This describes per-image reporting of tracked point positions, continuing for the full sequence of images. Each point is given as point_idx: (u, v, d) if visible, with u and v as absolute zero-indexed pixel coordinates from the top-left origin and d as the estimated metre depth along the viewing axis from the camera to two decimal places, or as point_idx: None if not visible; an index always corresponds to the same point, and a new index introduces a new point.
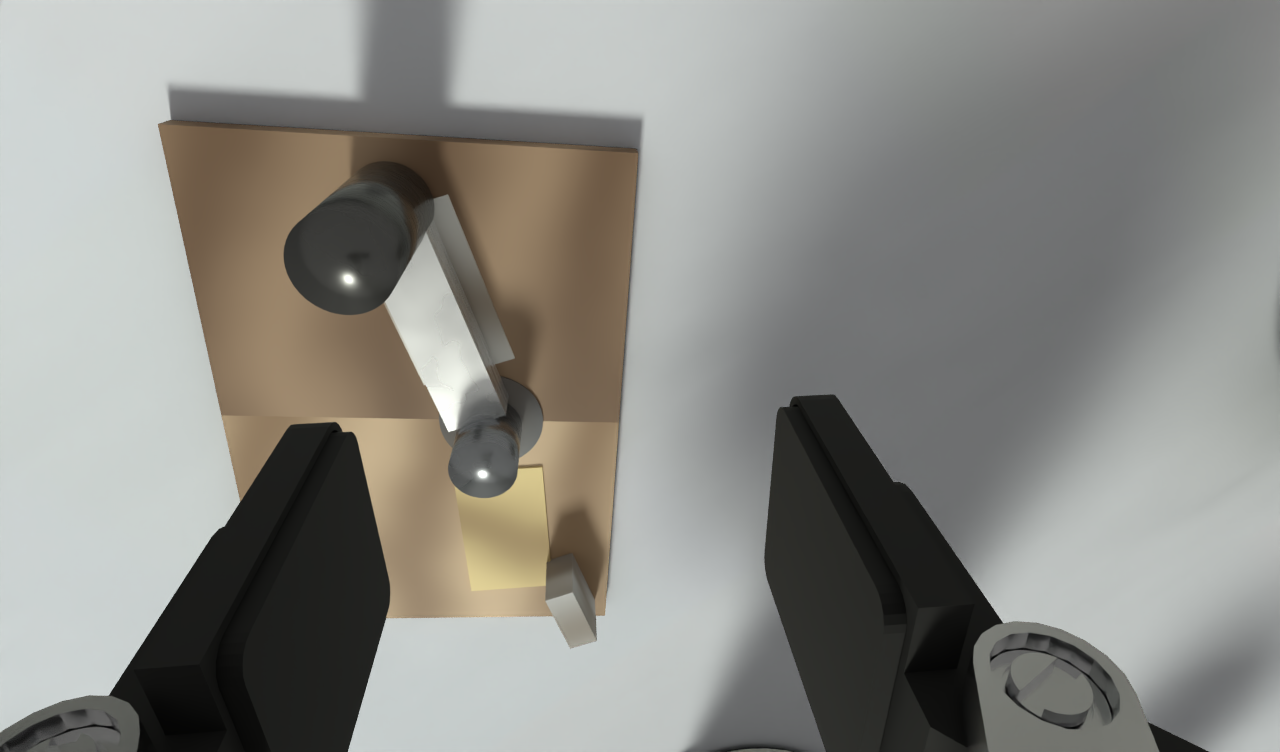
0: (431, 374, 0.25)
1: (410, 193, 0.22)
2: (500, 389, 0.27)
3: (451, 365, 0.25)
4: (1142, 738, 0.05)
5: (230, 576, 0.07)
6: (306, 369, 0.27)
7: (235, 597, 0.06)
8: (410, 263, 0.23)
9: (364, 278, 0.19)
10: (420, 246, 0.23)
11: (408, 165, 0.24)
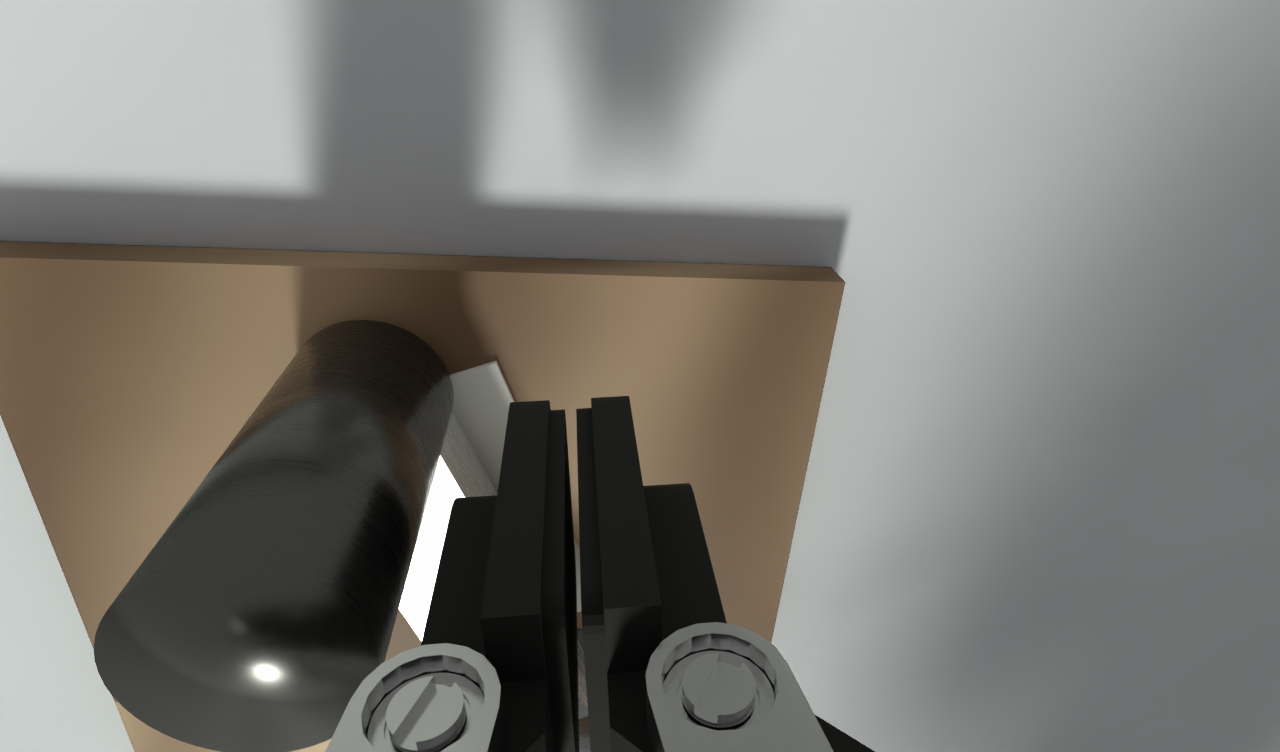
0: None
1: (406, 401, 0.11)
2: None
3: None
4: (800, 708, 0.06)
5: (526, 537, 0.07)
6: None
7: (541, 557, 0.07)
8: None
9: (300, 688, 0.08)
10: None
11: (424, 314, 0.13)
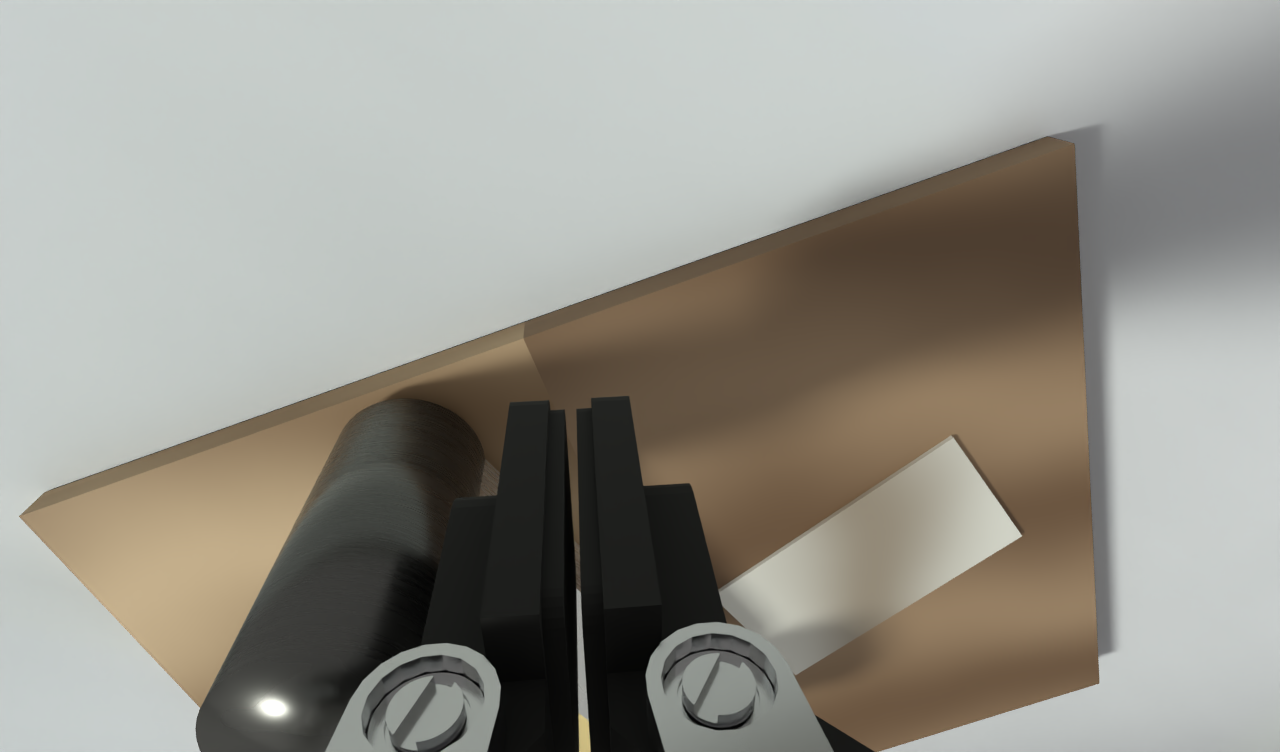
0: None
1: (425, 465, 0.12)
2: None
3: None
4: (801, 708, 0.06)
5: (525, 537, 0.07)
6: (679, 444, 0.15)
7: (541, 557, 0.07)
8: None
9: None
10: None
11: (1053, 481, 0.16)
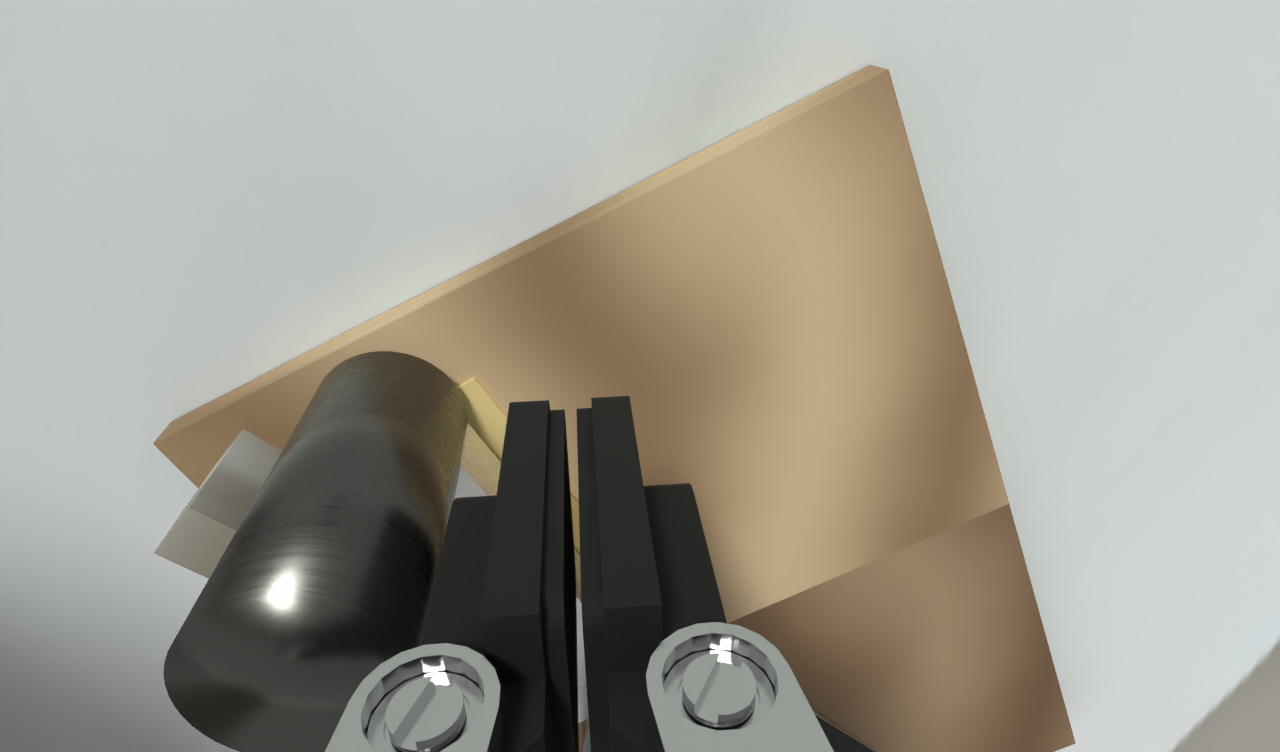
0: None
1: (415, 420, 0.12)
2: None
3: None
4: (801, 708, 0.06)
5: (525, 537, 0.07)
6: (898, 613, 0.18)
7: (541, 556, 0.07)
8: None
9: (351, 695, 0.09)
10: (457, 489, 0.13)
11: None
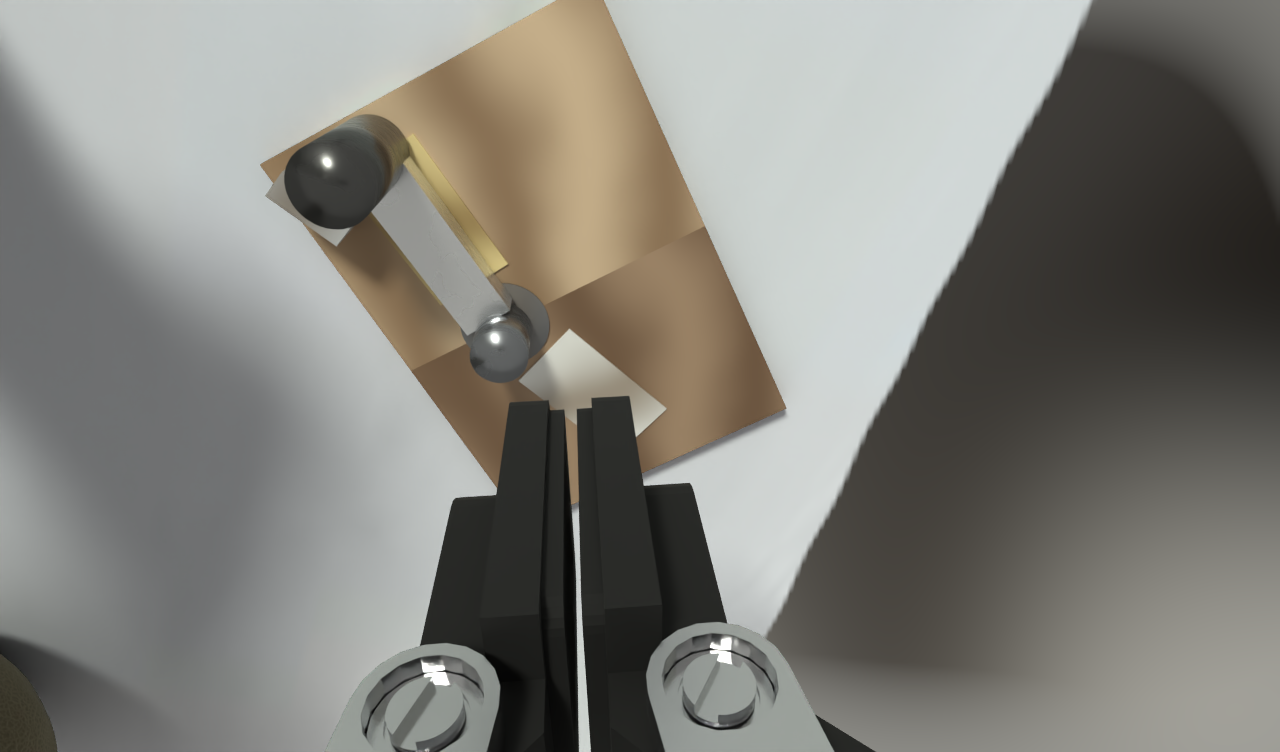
0: (439, 287, 0.30)
1: (380, 130, 0.27)
2: (500, 291, 0.31)
3: (454, 275, 0.30)
4: (801, 708, 0.06)
5: (525, 537, 0.07)
6: (656, 298, 0.33)
7: (541, 556, 0.07)
8: (397, 193, 0.28)
9: (350, 194, 0.24)
10: (401, 177, 0.28)
11: (645, 456, 0.37)
